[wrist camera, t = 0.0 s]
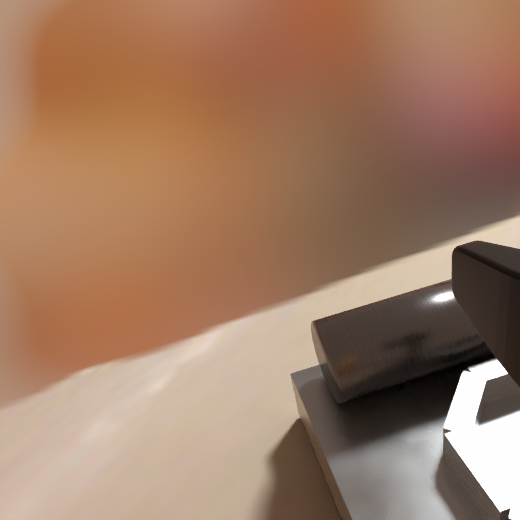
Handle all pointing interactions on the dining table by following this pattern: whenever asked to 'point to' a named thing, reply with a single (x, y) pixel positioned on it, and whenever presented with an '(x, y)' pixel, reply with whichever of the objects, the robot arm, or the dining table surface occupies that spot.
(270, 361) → the dining table surface
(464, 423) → the octagonal ring base plate
